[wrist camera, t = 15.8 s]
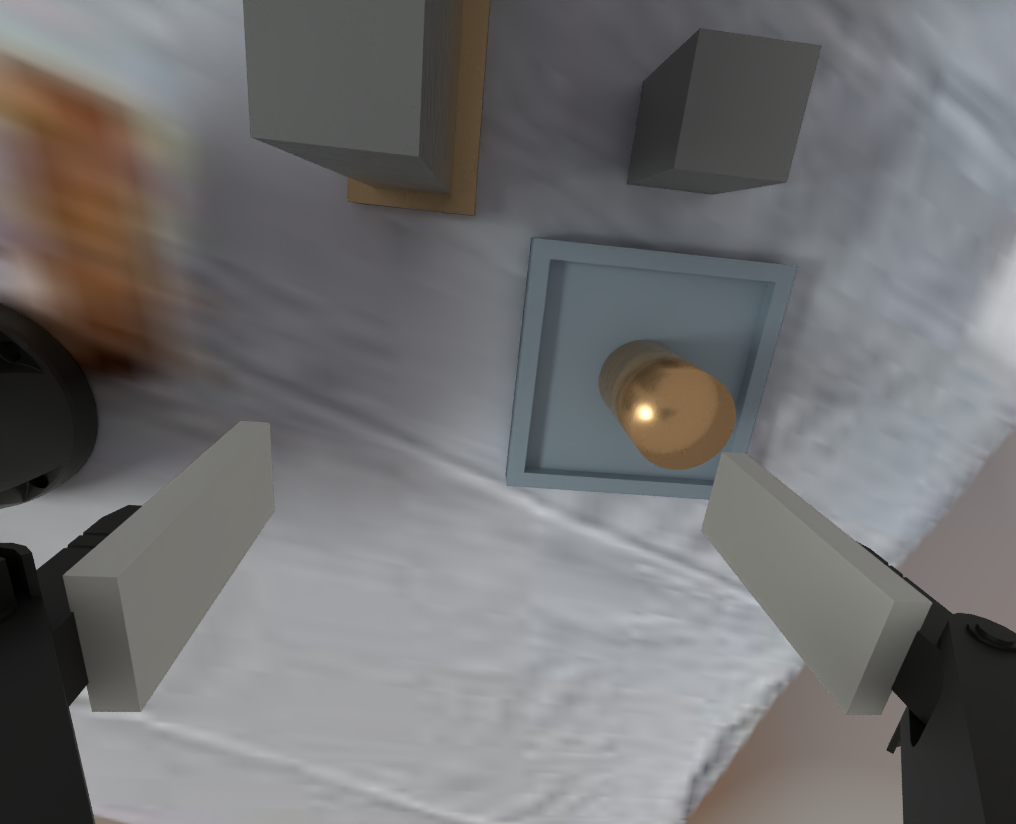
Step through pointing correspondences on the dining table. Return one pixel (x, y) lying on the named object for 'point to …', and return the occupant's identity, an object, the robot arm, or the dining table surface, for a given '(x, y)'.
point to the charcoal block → (722, 114)
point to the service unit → (374, 93)
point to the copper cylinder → (667, 404)
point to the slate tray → (621, 319)
